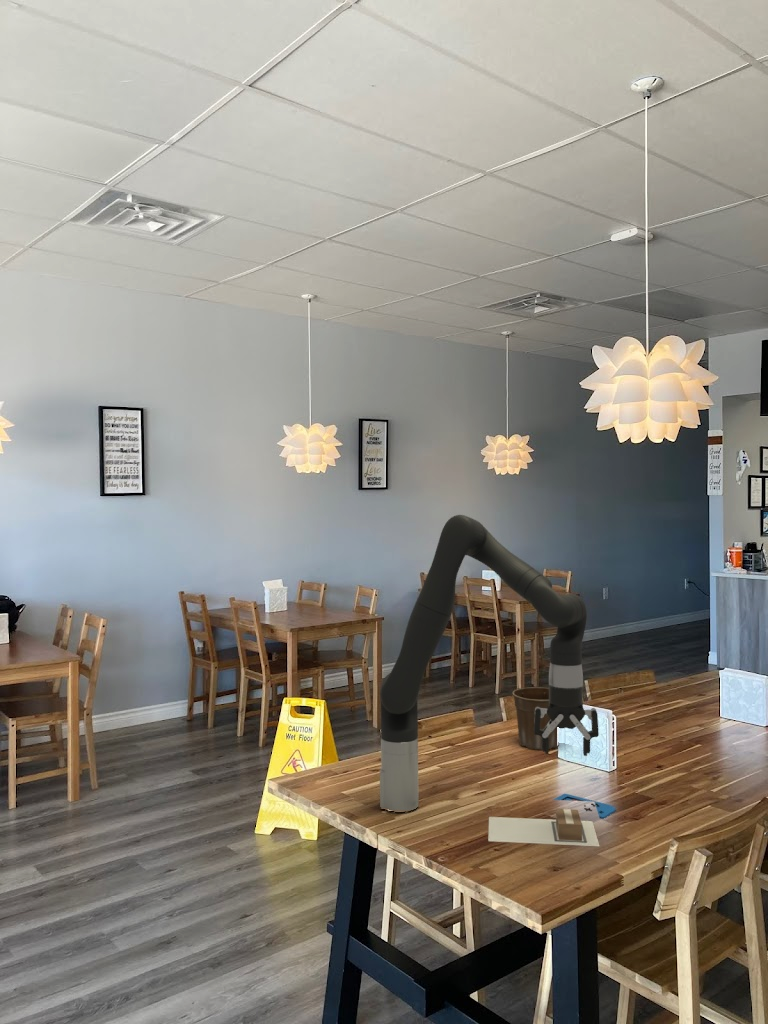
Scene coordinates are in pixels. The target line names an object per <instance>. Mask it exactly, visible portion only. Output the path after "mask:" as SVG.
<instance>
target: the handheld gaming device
mask: <svg viewBox="0 0 768 1024" xmlns="http://www.w3.org/2000/svg"><path fill="white" fill-rule="evenodd" d="M552 800H553V801H568V802H569V801H574V802H575V801H577V802H594V803H590V804H591V806H592V807H593V808H596V810H597V811H596V812H597V814H598V817H599V819H602V820H605V819H606V818H608V817H609V816H611V815H612V814H614V813H615V812H616V811H615V810H616V807H615V806H614V805H611V804H607V803H605V802H599V801H596V800H592V799H587V798H586V797H581V796H576V795H572V794H568V793H562V794H561V795H559V796H557V797H555V798H553V799H552ZM583 807H584V808H583V810H585V811H586V812H588V811H589V812H593V809H591V807H589V808H585V807H586V805H585V804H584V805H583ZM613 812H614V813H613ZM610 814H611V815H610ZM607 816H608V817H607ZM604 818H605V819H604Z"/></svg>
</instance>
